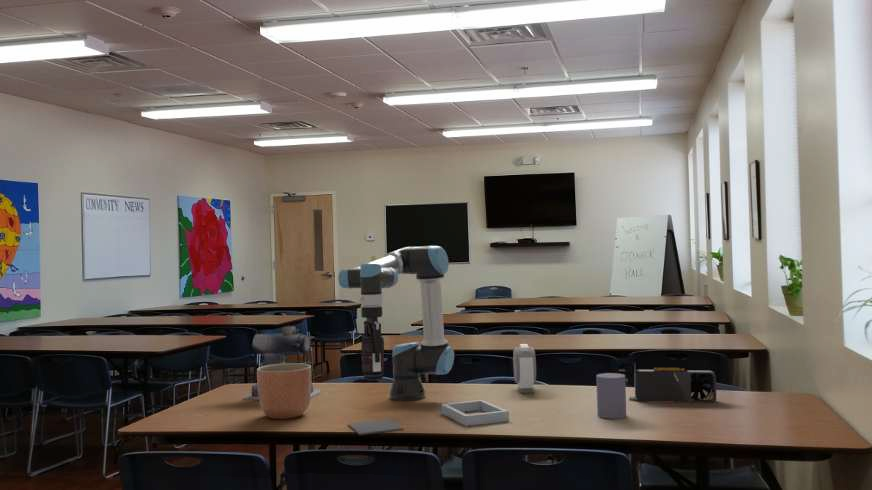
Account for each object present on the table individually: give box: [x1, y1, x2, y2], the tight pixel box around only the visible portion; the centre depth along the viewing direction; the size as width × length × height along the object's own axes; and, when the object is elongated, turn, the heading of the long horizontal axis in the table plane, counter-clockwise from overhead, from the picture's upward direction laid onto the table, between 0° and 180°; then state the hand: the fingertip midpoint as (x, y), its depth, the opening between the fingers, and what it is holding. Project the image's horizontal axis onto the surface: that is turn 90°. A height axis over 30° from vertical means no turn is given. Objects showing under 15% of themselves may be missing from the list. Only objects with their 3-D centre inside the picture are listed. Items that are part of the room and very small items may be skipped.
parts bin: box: [440, 399, 510, 427], centre depth 280 cm, size 23×17×4 cm
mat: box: [347, 418, 404, 436], centre depth 268 cm, size 16×16×1 cm
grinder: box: [241, 325, 323, 401], centre depth 334 cm, size 18×31×31 cm, turn 79°
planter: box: [256, 362, 312, 420], centre depth 291 cm, size 21×21×19 cm
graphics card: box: [628, 362, 717, 404], centre depth 298 cm, size 33×5×14 cm, turn 76°
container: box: [596, 372, 627, 420], centre depth 275 cm, size 10×10×15 cm
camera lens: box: [360, 336, 385, 381], centre depth 268 cm, size 8×8×15 cm
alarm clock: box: [512, 343, 537, 394], centre depth 329 cm, size 18×8×20 cm, turn 179°
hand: (373, 369), depth 268 cm, fingers closed on camera lens, 8 cm apart
